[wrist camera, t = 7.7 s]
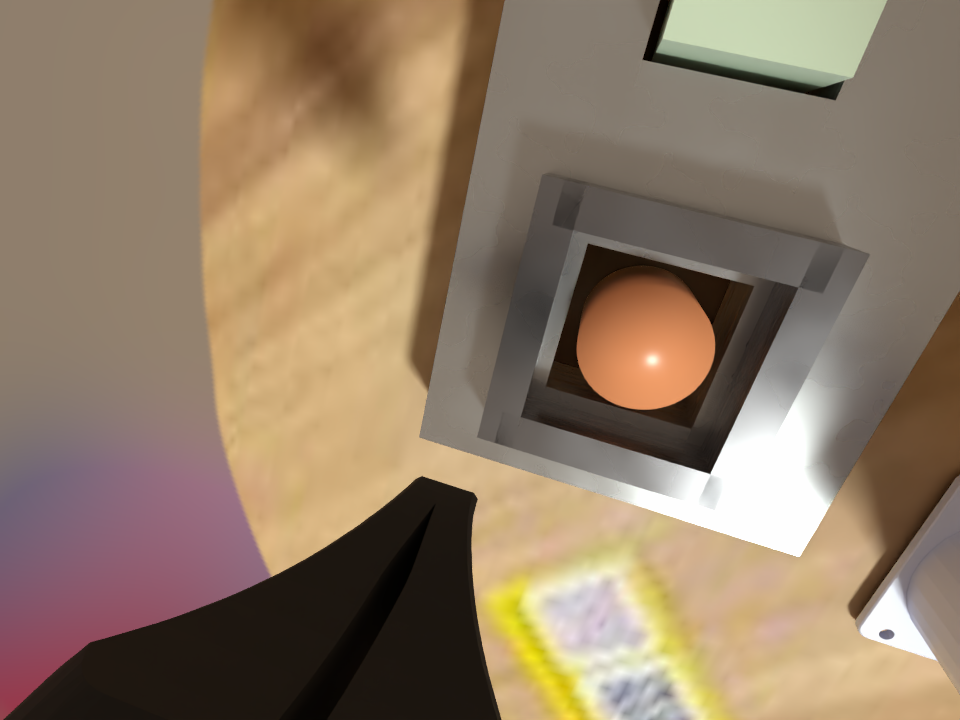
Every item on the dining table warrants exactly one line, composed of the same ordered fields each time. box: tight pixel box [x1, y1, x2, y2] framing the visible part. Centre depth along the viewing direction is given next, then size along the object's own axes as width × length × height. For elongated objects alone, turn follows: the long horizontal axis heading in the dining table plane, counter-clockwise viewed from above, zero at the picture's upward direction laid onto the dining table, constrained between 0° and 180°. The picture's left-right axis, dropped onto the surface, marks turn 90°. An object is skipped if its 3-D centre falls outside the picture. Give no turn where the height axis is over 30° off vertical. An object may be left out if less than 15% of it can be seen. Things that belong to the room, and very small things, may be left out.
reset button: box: [577, 266, 715, 410], centre depth 17 cm, size 4×4×3 cm
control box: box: [419, 0, 960, 556], centre depth 15 cm, size 14×22×4 cm, turn 168°
